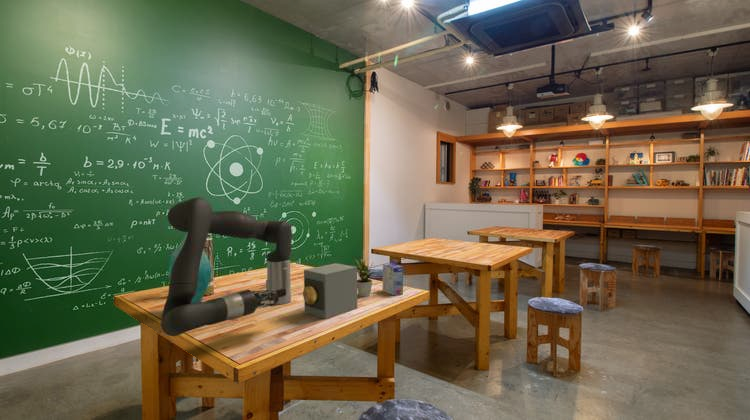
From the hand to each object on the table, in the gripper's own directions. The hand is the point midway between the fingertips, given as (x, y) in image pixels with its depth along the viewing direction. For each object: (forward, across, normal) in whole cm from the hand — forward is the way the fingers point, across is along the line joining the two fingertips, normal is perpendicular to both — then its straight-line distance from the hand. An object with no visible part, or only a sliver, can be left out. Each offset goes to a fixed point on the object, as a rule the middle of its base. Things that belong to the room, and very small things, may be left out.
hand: (284, 292), depth 124 cm
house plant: (+43, +5, +12) cm, 45 cm away
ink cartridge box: (+54, -3, +13) cm, 56 cm away
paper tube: (-1, +59, +12) cm, 60 cm away
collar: (+12, 0, +9) cm, 15 cm away
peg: (+17, 0, +7) cm, 19 cm away
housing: (+20, 0, +12) cm, 24 cm away
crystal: (-14, +39, +12) cm, 43 cm away
